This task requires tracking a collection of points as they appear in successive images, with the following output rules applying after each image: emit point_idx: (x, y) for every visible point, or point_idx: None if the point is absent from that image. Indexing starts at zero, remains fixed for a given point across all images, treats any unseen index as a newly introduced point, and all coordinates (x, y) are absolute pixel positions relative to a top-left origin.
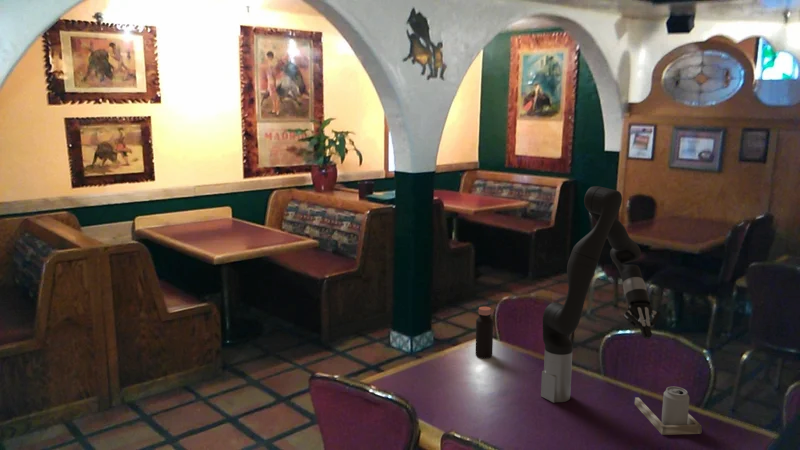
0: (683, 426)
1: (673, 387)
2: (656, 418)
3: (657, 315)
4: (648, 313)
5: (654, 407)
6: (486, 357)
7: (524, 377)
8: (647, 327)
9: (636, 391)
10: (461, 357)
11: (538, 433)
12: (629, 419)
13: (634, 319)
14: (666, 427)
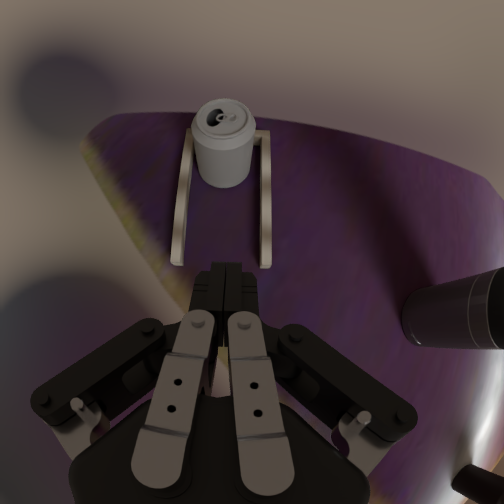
0: None
1: (219, 135)
2: (265, 161)
3: (67, 383)
4: (152, 409)
5: (225, 248)
6: (466, 466)
7: (446, 404)
8: (216, 304)
9: None
10: (488, 456)
11: (453, 186)
12: (309, 201)
13: (329, 364)
14: (262, 130)
